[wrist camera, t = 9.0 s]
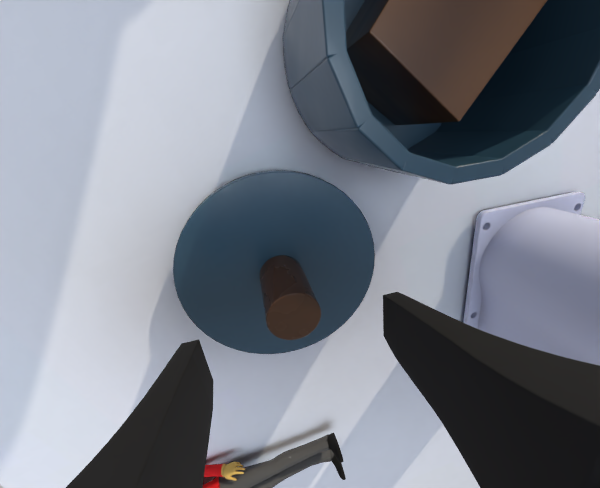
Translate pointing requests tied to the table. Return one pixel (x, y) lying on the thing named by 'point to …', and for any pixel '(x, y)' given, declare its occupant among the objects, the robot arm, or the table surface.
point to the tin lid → (273, 262)
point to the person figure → (276, 466)
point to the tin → (479, 117)
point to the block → (432, 53)
